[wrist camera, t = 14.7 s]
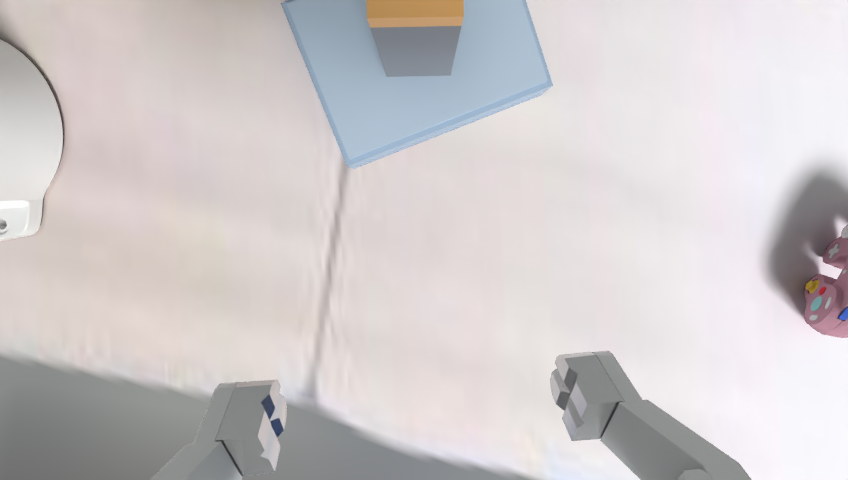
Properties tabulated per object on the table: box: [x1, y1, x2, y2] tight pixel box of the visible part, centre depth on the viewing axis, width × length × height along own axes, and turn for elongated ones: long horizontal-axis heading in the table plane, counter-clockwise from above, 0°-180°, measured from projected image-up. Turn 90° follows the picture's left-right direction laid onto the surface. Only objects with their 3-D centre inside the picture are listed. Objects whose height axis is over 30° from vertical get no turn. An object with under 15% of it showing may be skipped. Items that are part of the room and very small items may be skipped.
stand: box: [281, 0, 553, 168], centre depth 27 cm, size 16×12×3 cm
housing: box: [366, 0, 464, 77], centre depth 21 cm, size 4×4×9 cm
